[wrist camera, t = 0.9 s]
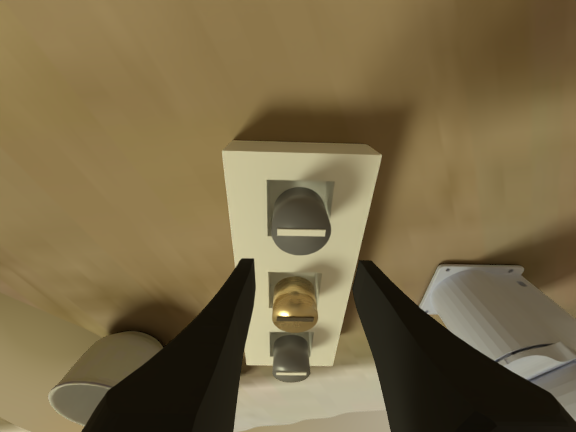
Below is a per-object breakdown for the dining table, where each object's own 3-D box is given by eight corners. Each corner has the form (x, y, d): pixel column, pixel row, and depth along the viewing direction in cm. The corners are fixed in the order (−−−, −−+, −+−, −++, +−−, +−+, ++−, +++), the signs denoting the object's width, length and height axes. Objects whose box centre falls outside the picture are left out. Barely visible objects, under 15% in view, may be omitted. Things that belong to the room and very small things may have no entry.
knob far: (309, 334, 26) (311, 364, 23) (306, 354, 28) (308, 383, 25) (273, 334, 26) (272, 363, 23) (274, 354, 28) (272, 383, 25)
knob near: (327, 187, 17) (335, 206, 14) (321, 232, 19) (327, 256, 16) (273, 186, 17) (270, 205, 14) (273, 231, 19) (271, 255, 16)
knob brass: (316, 276, 21) (320, 304, 18) (312, 305, 23) (316, 334, 20) (273, 276, 21) (271, 303, 18) (273, 304, 23) (272, 333, 20)
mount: (366, 144, 19) (382, 155, 16) (328, 339, 32) (332, 366, 29) (232, 140, 18) (221, 150, 15) (250, 338, 32) (246, 365, 29)
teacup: (115, 364, 35) (72, 433, 28) (83, 319, 30) (20, 390, 23) (205, 363, 35) (184, 431, 28) (189, 318, 30) (160, 389, 23)
